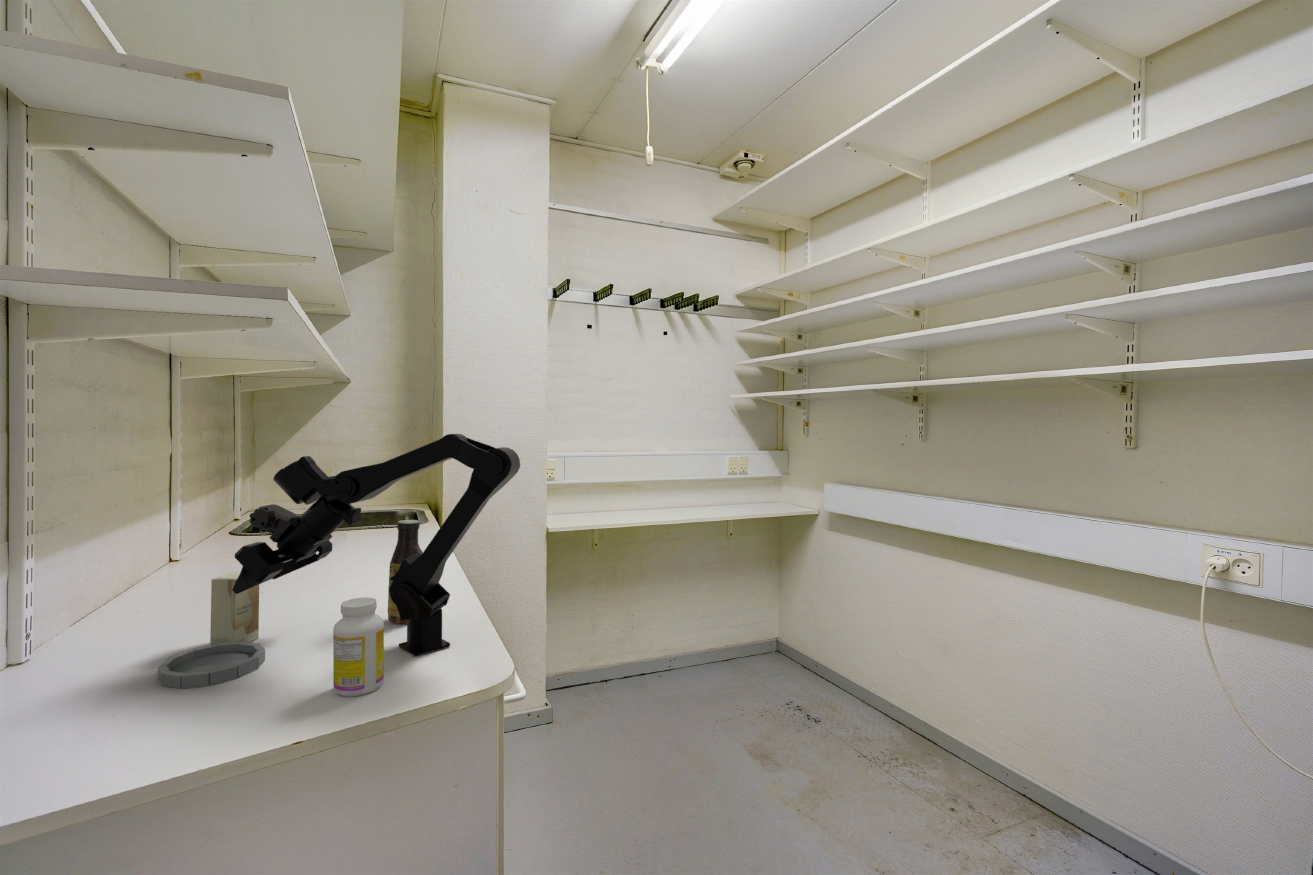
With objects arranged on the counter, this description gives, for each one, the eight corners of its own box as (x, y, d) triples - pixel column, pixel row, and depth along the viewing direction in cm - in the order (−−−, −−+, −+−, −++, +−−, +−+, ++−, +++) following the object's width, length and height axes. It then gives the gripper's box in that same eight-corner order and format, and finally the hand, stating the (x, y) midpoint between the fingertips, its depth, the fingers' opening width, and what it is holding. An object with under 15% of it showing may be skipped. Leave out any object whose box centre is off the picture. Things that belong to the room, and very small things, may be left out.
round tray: (274, 668, 91) (274, 657, 91) (167, 696, 82) (167, 683, 81) (251, 646, 100) (251, 636, 100) (152, 669, 90) (152, 657, 90)
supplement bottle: (371, 674, 90) (372, 592, 90) (392, 686, 86) (392, 601, 85) (325, 688, 85) (325, 602, 84) (344, 703, 80) (345, 611, 80)
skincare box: (234, 651, 98) (234, 579, 98) (208, 650, 98) (208, 579, 98) (260, 637, 104) (261, 570, 104) (237, 636, 104) (237, 569, 104)
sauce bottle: (380, 623, 113) (381, 522, 112) (403, 613, 118) (404, 517, 118) (407, 627, 110) (408, 524, 110) (429, 617, 116) (430, 519, 116)
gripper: (317, 484, 110) (259, 540, 110) (247, 496, 91) (177, 563, 91) (357, 526, 110) (299, 582, 110) (296, 547, 91) (226, 614, 92)
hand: (254, 584), depth 101 cm, fingers open, 9 cm apart
